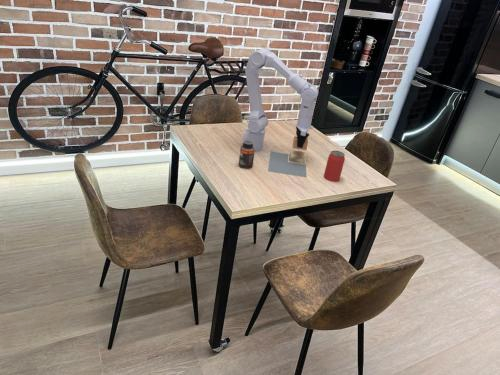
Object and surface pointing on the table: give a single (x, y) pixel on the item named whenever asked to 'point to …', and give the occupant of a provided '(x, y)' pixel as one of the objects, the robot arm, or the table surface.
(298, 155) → the base block
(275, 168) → the board
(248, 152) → the supplement bottle
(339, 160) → the beer can
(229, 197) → the table surface
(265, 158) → the table surface
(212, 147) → the table surface
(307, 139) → the terracotta block
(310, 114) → the robot arm
